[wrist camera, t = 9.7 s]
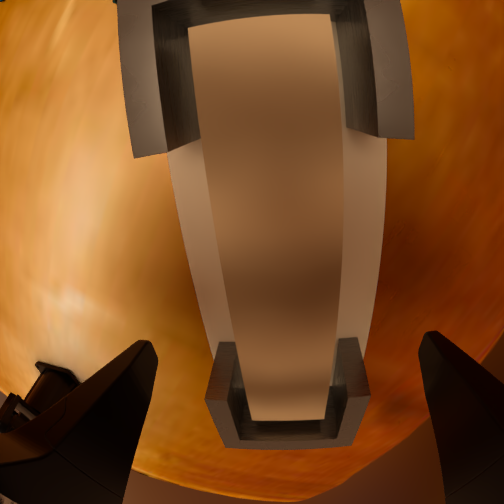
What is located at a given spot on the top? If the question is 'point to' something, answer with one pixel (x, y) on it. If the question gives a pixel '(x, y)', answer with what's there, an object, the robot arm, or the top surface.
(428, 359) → the robot arm
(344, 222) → the end-cap board
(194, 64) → the beige rectangular bar
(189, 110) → the end caps
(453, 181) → the top surface
